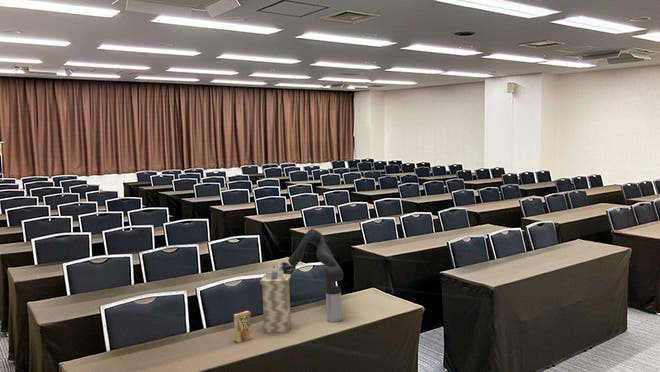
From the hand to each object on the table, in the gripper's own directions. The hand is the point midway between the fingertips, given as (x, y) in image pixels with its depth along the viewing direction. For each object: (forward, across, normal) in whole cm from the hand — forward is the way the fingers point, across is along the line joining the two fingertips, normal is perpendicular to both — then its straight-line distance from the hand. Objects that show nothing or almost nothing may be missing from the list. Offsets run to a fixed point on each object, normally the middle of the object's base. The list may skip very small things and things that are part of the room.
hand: (284, 267), depth 320 cm
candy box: (+26, -24, +40) cm, 53 cm away
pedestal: (+12, -5, +36) cm, 38 cm away
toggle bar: (+15, -4, +5) cm, 16 cm away
